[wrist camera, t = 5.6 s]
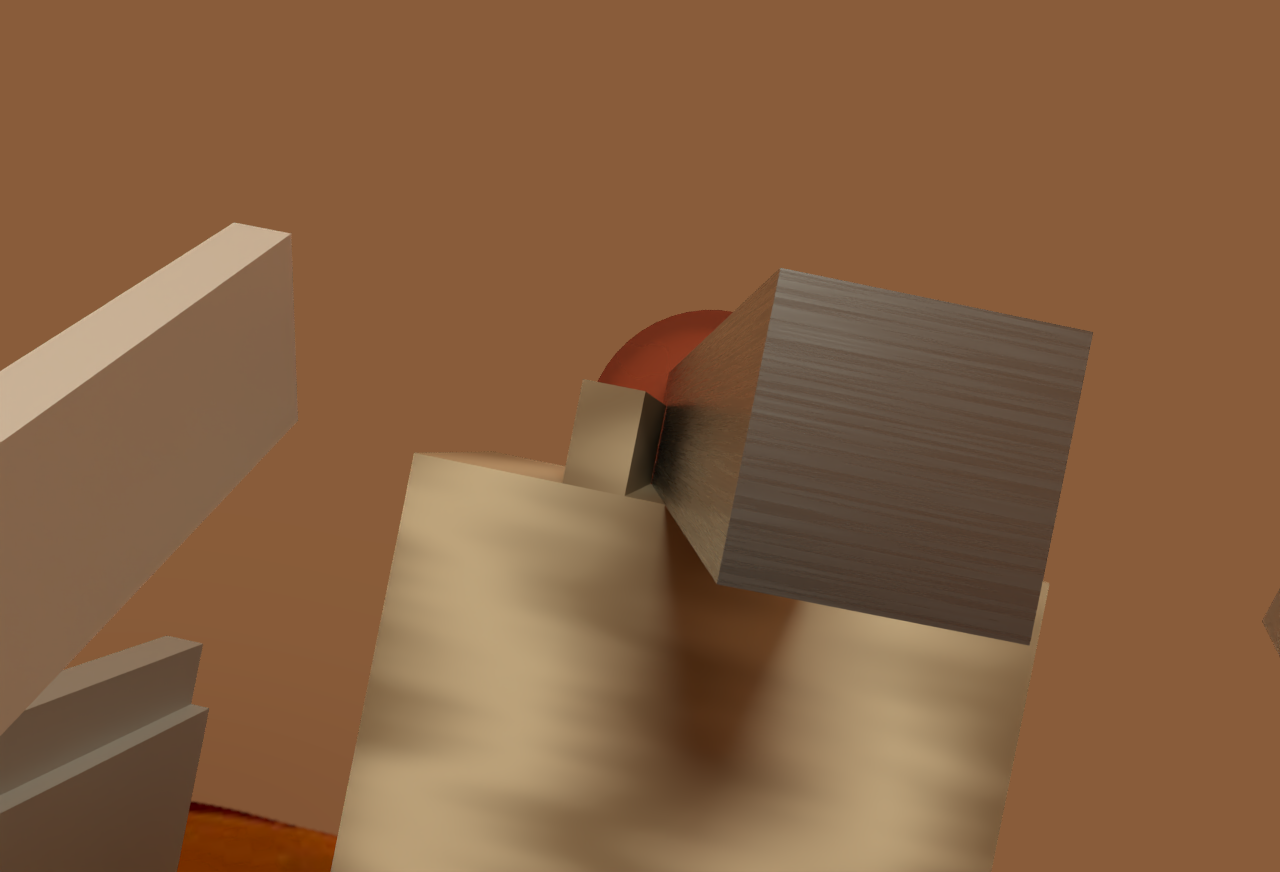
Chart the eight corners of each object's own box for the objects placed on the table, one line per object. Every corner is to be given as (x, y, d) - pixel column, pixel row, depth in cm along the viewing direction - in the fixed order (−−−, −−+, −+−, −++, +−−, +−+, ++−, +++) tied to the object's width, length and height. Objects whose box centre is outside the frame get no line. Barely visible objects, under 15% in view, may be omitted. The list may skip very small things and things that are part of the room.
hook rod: (464, 754, 10) (611, 11, 10) (565, 529, 32) (612, 294, 32) (1192, 893, 10) (1341, 166, 10) (799, 576, 32) (846, 341, 32)
